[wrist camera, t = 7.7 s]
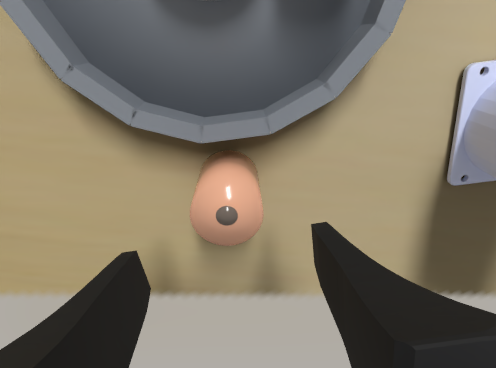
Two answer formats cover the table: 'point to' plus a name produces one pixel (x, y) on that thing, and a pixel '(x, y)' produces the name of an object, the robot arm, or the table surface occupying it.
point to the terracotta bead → (227, 199)
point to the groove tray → (207, 57)
